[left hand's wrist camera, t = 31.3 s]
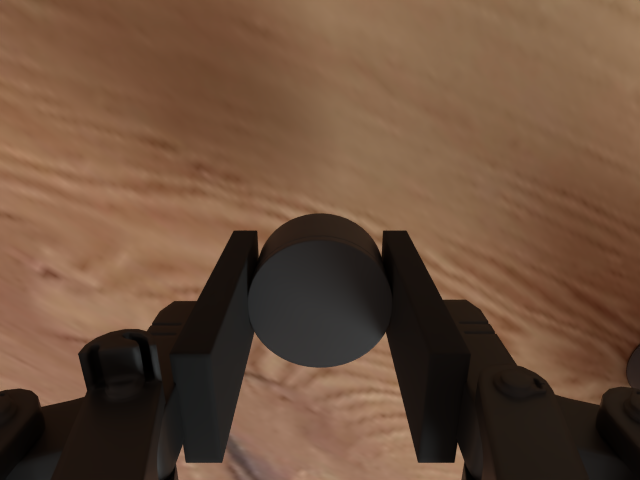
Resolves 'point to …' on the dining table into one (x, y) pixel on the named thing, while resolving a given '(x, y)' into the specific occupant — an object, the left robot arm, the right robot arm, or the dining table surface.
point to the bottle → (634, 369)
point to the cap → (320, 292)
